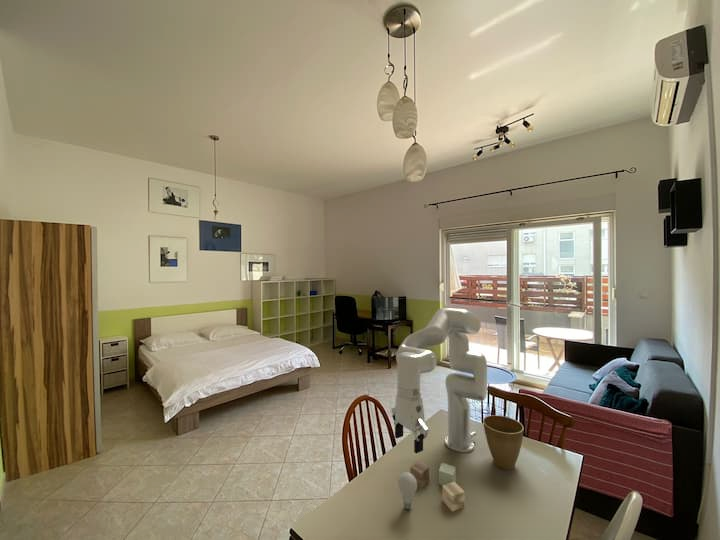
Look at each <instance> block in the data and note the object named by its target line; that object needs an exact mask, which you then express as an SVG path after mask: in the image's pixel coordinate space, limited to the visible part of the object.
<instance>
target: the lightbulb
mask: <svg viewBox="0 0 720 540" xmlns="http://www.w3.org/2000/svg"><path fill="white" fill-rule="evenodd" d="M397 481H398V483H397V485H398V488H399V491H400V492H401V494H402V500H403V507H404V509H406V510H411V509H412V505H413V498H414V495H415V493H416V491H417V488H418V485H417V481H416V479H415V477H414V476H413V475H412V474H411V473H410V472H406V471H405V472H403V473H402V474H400V476H399V478H398V480H397Z"/></svg>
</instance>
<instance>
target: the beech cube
mask: <svg viewBox="0 0 720 540" xmlns="http://www.w3.org/2000/svg"><path fill="white" fill-rule="evenodd" d="M441 486H442V489H441V490H442V491H441V492H442V502H443V503H444V505H446V506H447V507H448V509H449V510H450V511H451V512H454V511H457V510H460V509H464V508H465V506H466V505H465V491H464V490H463V488H461V486H459V485H458V484H457V483H456V481H455V482H452V483H449V484H446V485H441Z"/></svg>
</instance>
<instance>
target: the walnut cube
mask: <svg viewBox="0 0 720 540" xmlns="http://www.w3.org/2000/svg"><path fill="white" fill-rule="evenodd" d="M409 468H410V471H409V473H411V474H412V475H413V476H414V477H415V479H416V481H417V486H419V487H421V488H423V487H424V486H426V484H427V483H429V481H430V466H428V465H426V464H424V463H422V462H421V461H419V460H417V461H416V462H415V463H413V464H412V465H411V466H410V467H409Z"/></svg>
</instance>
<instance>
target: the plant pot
mask: <svg viewBox="0 0 720 540" xmlns="http://www.w3.org/2000/svg"><path fill="white" fill-rule="evenodd" d="M482 424H483V429H484V434H485V438H486V442H487V447H488V449H489V452H490V454H491V457H492V460H493V462H494V464H495V465H496V466H498V467H499V468H501V469H504V470H510V469H513V468H514V467H515V466H516V463H517V461H518V458H519V455H520V451H521V446H522V444H523V437H524V429H525V428H524V426H523V424H522V423H521V422H520V421H518V420H517V419H515V418H511V417H508V416H505V415H499V414H498V415H496V414H495V415H494V414H493V415H488V416H485V417H484V418H483V419H482Z"/></svg>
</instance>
